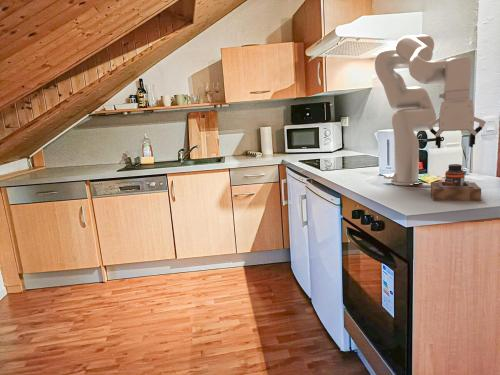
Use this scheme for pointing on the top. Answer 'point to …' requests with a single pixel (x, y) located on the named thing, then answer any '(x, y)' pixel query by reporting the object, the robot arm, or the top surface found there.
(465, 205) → the top surface
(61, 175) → the top surface
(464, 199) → the jig
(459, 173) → the supplement bottle
